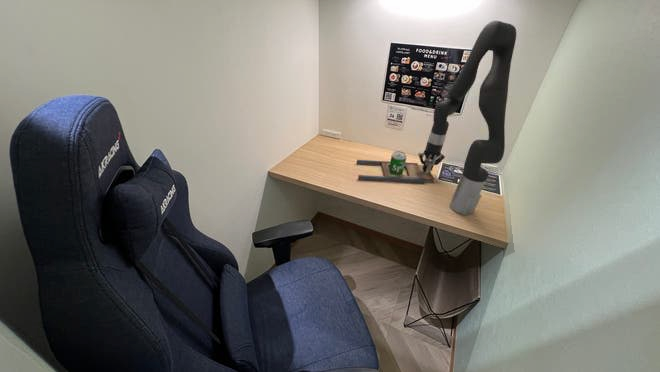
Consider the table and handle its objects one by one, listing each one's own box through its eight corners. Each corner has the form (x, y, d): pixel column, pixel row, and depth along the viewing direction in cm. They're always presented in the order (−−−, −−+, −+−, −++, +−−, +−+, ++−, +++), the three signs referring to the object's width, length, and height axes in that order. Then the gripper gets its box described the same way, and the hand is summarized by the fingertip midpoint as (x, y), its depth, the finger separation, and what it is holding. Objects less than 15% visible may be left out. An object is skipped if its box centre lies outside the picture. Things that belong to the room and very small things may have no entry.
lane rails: (416, 166, 147) (417, 163, 146) (424, 183, 133) (425, 179, 131) (356, 163, 147) (357, 159, 146) (358, 180, 133) (358, 176, 132)
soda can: (386, 174, 139) (390, 154, 132) (390, 168, 144) (394, 149, 137) (400, 178, 136) (404, 158, 129) (404, 172, 141) (408, 152, 134)
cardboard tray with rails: (425, 168, 145) (429, 155, 141) (433, 182, 134) (437, 168, 129) (381, 165, 146) (383, 153, 141) (384, 179, 134) (387, 166, 130)
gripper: (447, 138, 131) (437, 167, 141) (420, 137, 131) (412, 166, 141) (452, 145, 125) (441, 175, 135) (424, 143, 125) (415, 173, 135)
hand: (426, 170), depth 138 cm, fingers closed on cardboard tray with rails, 2 cm apart
